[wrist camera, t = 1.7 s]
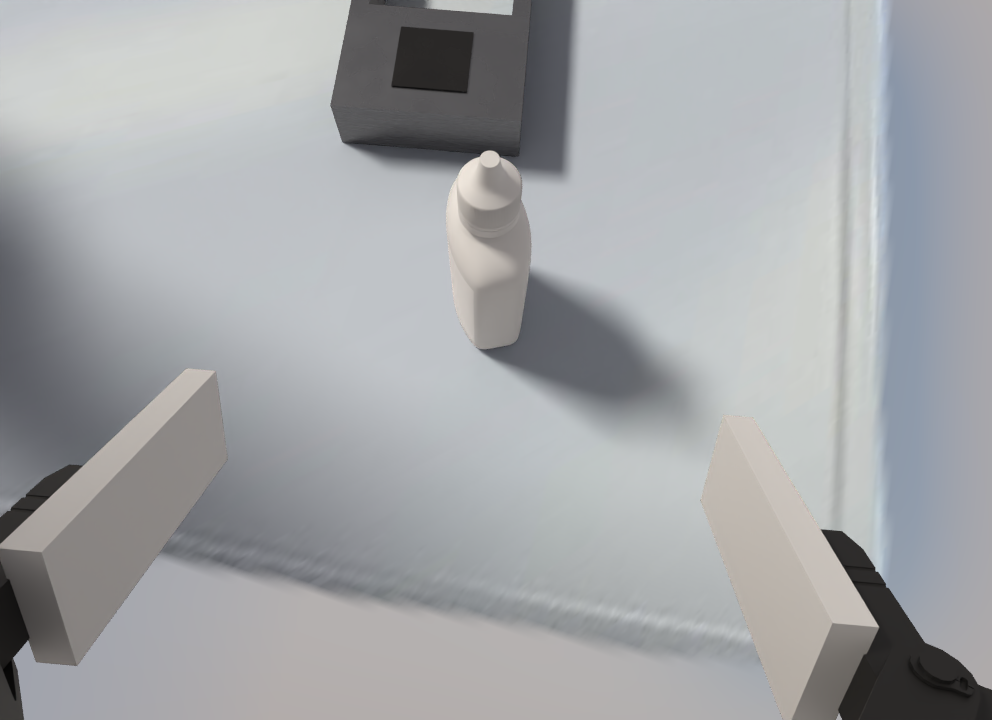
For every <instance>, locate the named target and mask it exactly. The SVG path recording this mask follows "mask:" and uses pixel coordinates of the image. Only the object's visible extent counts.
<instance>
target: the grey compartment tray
mask: <svg viewBox="0 0 992 720" xmlns="http://www.w3.org/2000/svg"><path fill="white" fill-rule="evenodd" d="M531 1H532V0H514V2H513V12H512V15H500V14H487V13H475V12H462V11H450V10H438V9H425V8H413V7H400V6H388V5H385V0H351V5H350V10H349V15H348V20H347V25H346V30H345V35H344V40H343V45H342V50H341V55H340V60H339V65H338V70H337V75H336V80H335V85H334V90H333V95H332V100H331V108H332V112H333V115H334V118H335V121H336V124H337V127H338V130H339V133H340V136H341V140H342V142H348V143H360V144H372V145H384V146H396V147H409V148H421V149H433V150H445V151H457V152H470V153H483V152H485V151H494V152H496V153H497V154H498V155H506V156H518V155H519V143H520V132H521V120H522V108H523V96H524V84H525V72H526V60H527V48H528V37H529V25H530V13H531Z"/></svg>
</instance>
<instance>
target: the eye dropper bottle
mask: <svg viewBox="0 0 992 720" xmlns="http://www.w3.org/2000/svg"><path fill="white" fill-rule="evenodd" d="M520 176H521V175H520V174H519V171H518V169H516V167H515V166H514V165H513V164H511V162H509V161H507V160H506V159H503V158H500V157H499V155H498V154H497V153H496V152H494V151H485V152H483V153H482V154H481V156H480V157H478V158H475V159H473V160H471V161H470V162H467V164H465V166H463V168H462V169H461V171H460V172H459V174H458V177H457V179H456V180H455V181H454V183H453V185H452V188H451V190H450V194H449V198H448V202H447V210H446V228H447V240H448V250H449V260H450V270H451V280H452V290H453V299H454V304H455V309H456V312H457V316H458V318H459V321H460V323H461V326H462V328H463V330H464V331H465V333H466V335H467V336H468V338H469V339H470V341H471V342H472V343H473V345H474V346H476V347H477V348H479V349H491V348H496V347H502V346H507V345H511V344H513V343H515V342H516V340H517V339H518V337H519V333H520V329H521V323H522V317H523V310H524V304H525V297H526V291H527V284H528V277H529V270H530V262H531V232H530V225H529V221H528V217H527V213H526V211H525V208H524V205H523V203H522V201H521V195H522V180H521V179H522V178H521V177H520Z"/></svg>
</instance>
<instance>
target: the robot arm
mask: <svg viewBox="0 0 992 720" xmlns="http://www.w3.org/2000/svg"><path fill="white" fill-rule="evenodd" d="M227 459H228V457H227V450H226V442H225V435H224V428H223V420H222V413H221V405H220V398H219V390H218V383H217V375H216V371H211V370H200V369H188V368H186V369H185V370H184V371H183V372H182V373H181V374H180V375H179V376H178V377H177V378H176V379H175V380H174V381H173V382H172V383H171V384H169V385H168V386H167V387H166V388H165V389H164V390H163V391H162V392H161V393H160V394H159V395H158V396H157V397H156V398H155V399H154V400H152V401H151V402H150V403H149V404H148V405H147V406H146V407H145V408H144V409H143V410H142V411H141V412H140V413H139V414H138V415H137V416H136V417H134V418H133V419H132V420H131V421H130V422H129V423H128V424H127V425H126V426H125V427H124V428H123V429H122V430H121V431H120V432H119V433H118V434H116V435H115V436H114V437H113V438H112V439H111V440H110V441H109V442H108V443H107V444H106V445H105V446H104V447H103V448H102V449H101V450H99V451H98V452H97V453H96V454H95V455H94V456H93V457H92V458H91V459H90V460H89V461H88V462H87V463H86V464H85V465H84V466H79V465H68V466H66V467H64V468H62V469H61V470H59V471H57V472H55V473H53V474H51V475H49V476H47V477H45V478H44V479H43V480H42V481H41V482H39V483H38V484H37V485H36V486H35V487H34V488H33V489H32V490H30V491H29V492H28V493H27V494H26V497H25V498H21V499H20V500H19V501H18V502H17V503H16V504H15V505H14V506H13V507H11V511H7V512H6V513H5V514H4V515H2V516H1V517H0V720H24V717H23V709H22V701H21V693H20V686H19V679H18V671H17V668H16V665H15V662H14V660H13V657H14V656H15V655H16V654H17V652H18V651H19V650H20V649H21V648H22V647H23V645H24V644H25V643H26V642H27V640H28V641H29V643H30V646H31V649H32V652H33V655H34V658H35V660H36V662H40V663H51V664H62V665H74V666H77V665H78V664H79V663H80V661H81V660H82V658H83V657H84V656H85V654H86V653H87V652H88V650H89V649H90V647H91V646H92V644H93V643H94V642H95V641H96V639H97V638H98V636H99V635H100V634H101V632H102V631H103V629H104V628H105V627H106V625H107V624H108V623H109V621H110V620H111V619H112V617H113V616H114V614H115V613H116V612H117V610H118V609H119V608H120V606H121V605H122V604H123V602H124V600H125V599H126V598H127V597H128V595H129V594H130V593H131V591H132V590H133V588H134V587H135V586H136V584H137V583H138V582H139V580H140V578H141V577H142V576H143V575H144V573H145V572H146V571H147V569H148V568H149V566H150V565H151V564H152V562H153V561H154V560H155V558H156V557H157V555H158V554H159V553H160V551H161V550H162V549H163V547H164V546H165V544H166V543H167V542H168V540H169V539H170V538H171V536H172V535H173V534H174V532H175V531H176V529H177V528H178V527H179V525H180V524H181V523H182V521H183V520H184V518H185V517H186V516H187V514H188V513H189V512H190V510H191V509H192V507H193V506H194V505H195V503H196V502H197V501H198V499H199V498H200V496H201V495H202V494H203V492H204V491H205V490H206V488H207V487H208V485H209V484H210V483H211V481H212V480H213V479H214V477H215V476H216V474H217V473H218V472H219V470H220V469H221V468H222V466H223V465H224V463H225V462H226V461H227ZM700 501H701V503H702V506H703V509H704V511H705V514H706V517H707V519H708V522H709V525H710V527H711V530H712V533H713V535H714V538H715V541H716V543H717V546H718V549H719V551H720V554H721V557H722V559H723V562H724V565H725V567H726V570H727V573H728V575H729V578H730V581H731V583H732V586H733V589H734V591H735V594H736V597H737V599H738V602H739V605H740V607H741V610H742V613H743V615H744V618H745V621H746V623H747V626H748V629H749V631H750V634H751V637H752V639H753V642H754V645H755V647H756V650H757V653H758V655H759V658H760V661H761V663H762V666H763V669H764V671H765V674H766V677H767V679H768V682H769V684H770V687H771V690H772V692H773V695H774V698H775V700H776V703H777V706H778V708H779V711H780V714H781V716H782V719H783V720H836V718H837V716H838V714H839V713H840V716H841V718H842V720H992V690H991V689H988V688H985V687H982V686H980V685H978V684H977V682H976V681H975V679H974V677H973V675H972V674H971V673H970V672H969V671H968V670H967V669H966V668H965V667H964V666H963V665H962V664H961V663H960V662H959V661H958V660H956V659H955V658H953V657H952V656H950V655H949V654H947V653H946V652H944V651H943V650H941V649H938V648H936V647H933V646H931V645H929V644H926V643H925V642H924V641H923V639H922V638H921V636H920V635H919V633H918V632H917V631H916V629H915V627H914V626H913V624H912V623H911V621H910V620H909V618H908V617H907V615H906V614H905V612H904V611H903V609H902V608H901V606H900V605H899V603H898V602H897V600H896V599H895V597H894V595H893V594H892V593H891V591H890V589H889V588H886V583H885V582H884V580H883V579H882V577H881V576H880V574H879V573H878V572H876V571H875V567H874V565H873V564H872V562H871V561H870V559H869V558H868V556H867V555H866V553H865V552H864V550H863V549H862V548H861V547H860V546H859V545H857V544H856V543H855V542H854V541H853V540H852V539H850V538H849V537H848V536H847V535H846V534H845V533H843V532H842V531H833V530H822V529H820V528H819V526H818V525H817V523H816V521H815V520H814V518H813V516H812V515H811V513H810V511H809V510H808V508H807V506H806V505H805V503H804V501H803V500H802V498H801V496H800V495H799V493H798V491H797V490H796V488H795V486H794V485H793V483H792V481H791V480H790V478H789V476H788V475H787V473H786V471H785V470H784V468H783V466H782V465H781V463H780V461H779V460H778V458H777V456H776V455H775V453H774V451H773V450H772V448H771V446H770V445H769V443H768V441H767V440H766V438H765V436H764V435H763V433H762V431H761V430H760V428H759V426H758V425H757V423H756V421H755V420H754V418H753V417H742V416H730V415H723V418H722V422H721V425H720V429H719V433H718V437H717V440H716V444H715V448H714V452H713V455H712V459H711V463H710V467H709V470H708V474H707V478H706V482H705V485H704V489H703V493H702V497H701V500H700Z"/></svg>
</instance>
